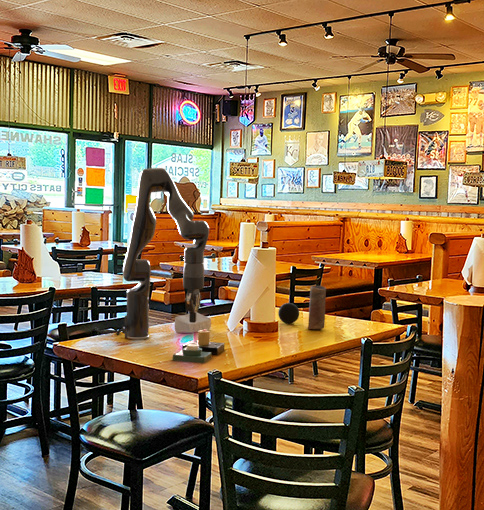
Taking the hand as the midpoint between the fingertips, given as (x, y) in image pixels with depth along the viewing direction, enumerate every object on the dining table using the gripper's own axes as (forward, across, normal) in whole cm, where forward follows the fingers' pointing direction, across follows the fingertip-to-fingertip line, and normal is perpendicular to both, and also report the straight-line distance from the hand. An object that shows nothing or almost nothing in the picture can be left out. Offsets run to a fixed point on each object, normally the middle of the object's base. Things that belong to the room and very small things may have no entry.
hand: (192, 322), depth 256 cm
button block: (+14, +1, 0) cm, 14 cm away
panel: (+14, -13, 0) cm, 19 cm away
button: (+10, +1, 0) cm, 10 cm away
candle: (+14, -76, +35) cm, 85 cm away
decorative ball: (+15, -87, +20) cm, 91 cm away
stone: (+15, -53, -18) cm, 58 cm away
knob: (+11, -13, 0) cm, 17 cm away
